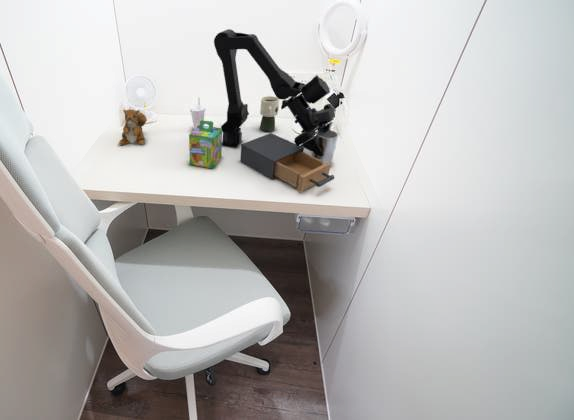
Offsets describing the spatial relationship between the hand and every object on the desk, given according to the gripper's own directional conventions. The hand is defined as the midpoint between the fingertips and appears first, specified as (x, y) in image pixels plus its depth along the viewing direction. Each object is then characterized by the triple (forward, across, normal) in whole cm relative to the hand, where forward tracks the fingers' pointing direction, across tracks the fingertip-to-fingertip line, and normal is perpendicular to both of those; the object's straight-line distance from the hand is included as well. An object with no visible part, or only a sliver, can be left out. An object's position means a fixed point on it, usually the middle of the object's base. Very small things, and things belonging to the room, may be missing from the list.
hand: (327, 150), depth 109 cm
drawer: (+2, -14, +5) cm, 15 cm away
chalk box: (-21, -22, +29) cm, 42 cm away
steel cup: (+3, 0, +5) cm, 5 cm away
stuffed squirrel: (-46, -24, +54) cm, 74 cm away
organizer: (-7, -10, +15) cm, 19 cm away
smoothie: (-34, -3, +42) cm, 54 cm away
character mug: (-18, +15, +26) cm, 34 cm away
